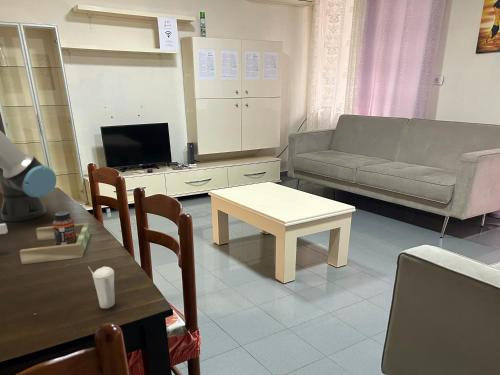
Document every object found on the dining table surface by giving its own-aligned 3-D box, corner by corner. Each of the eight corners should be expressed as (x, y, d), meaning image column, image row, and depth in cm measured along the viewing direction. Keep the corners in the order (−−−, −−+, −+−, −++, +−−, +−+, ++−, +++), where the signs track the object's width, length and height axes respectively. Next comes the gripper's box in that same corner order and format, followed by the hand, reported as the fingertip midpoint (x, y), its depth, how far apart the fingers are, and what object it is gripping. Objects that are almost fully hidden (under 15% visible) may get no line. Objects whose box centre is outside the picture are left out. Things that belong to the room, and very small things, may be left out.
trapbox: (39, 239, 122) (37, 227, 121) (90, 233, 126) (89, 222, 125) (21, 264, 105) (19, 251, 103) (82, 257, 109) (80, 244, 108)
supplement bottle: (69, 251, 113) (63, 216, 110) (52, 250, 114) (46, 215, 111) (81, 243, 118) (76, 210, 115) (65, 242, 119) (59, 209, 116)
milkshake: (96, 300, 87) (91, 261, 84) (120, 298, 87) (115, 260, 84) (90, 311, 82) (84, 271, 80) (114, 309, 83) (109, 270, 80)
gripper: (-73, 241, 111) (15, 231, 117) (-99, 260, 98) (0, 248, 105) (-79, 218, 108) (10, 209, 115) (-107, 235, 96) (-5, 224, 103)
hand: (6, 228), depth 110 cm, fingers closed
